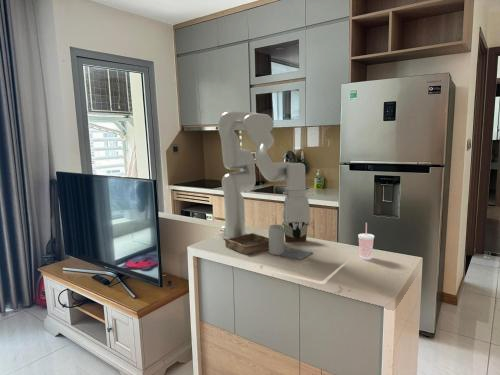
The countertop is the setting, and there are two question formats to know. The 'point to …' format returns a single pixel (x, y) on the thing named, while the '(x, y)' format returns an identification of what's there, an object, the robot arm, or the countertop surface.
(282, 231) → the beverage can
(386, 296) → the countertop surface
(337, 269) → the countertop surface
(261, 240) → the walnut box
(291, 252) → the charcoal mat
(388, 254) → the countertop surface
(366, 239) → the beverage cup
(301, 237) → the food container
